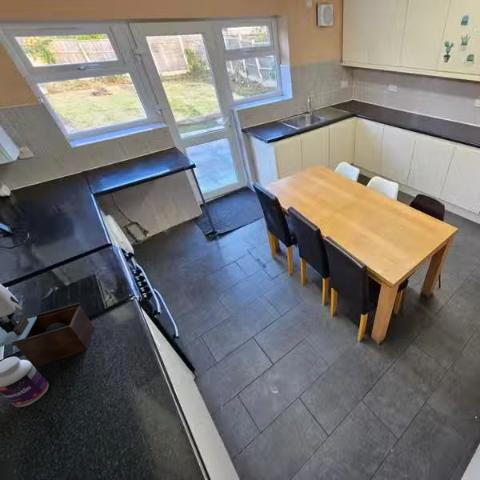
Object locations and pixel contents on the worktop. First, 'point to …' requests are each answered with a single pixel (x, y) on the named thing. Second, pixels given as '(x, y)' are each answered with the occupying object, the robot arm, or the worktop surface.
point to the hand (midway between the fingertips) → (12, 329)
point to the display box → (56, 335)
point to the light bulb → (55, 326)
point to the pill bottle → (21, 382)
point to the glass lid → (17, 331)
